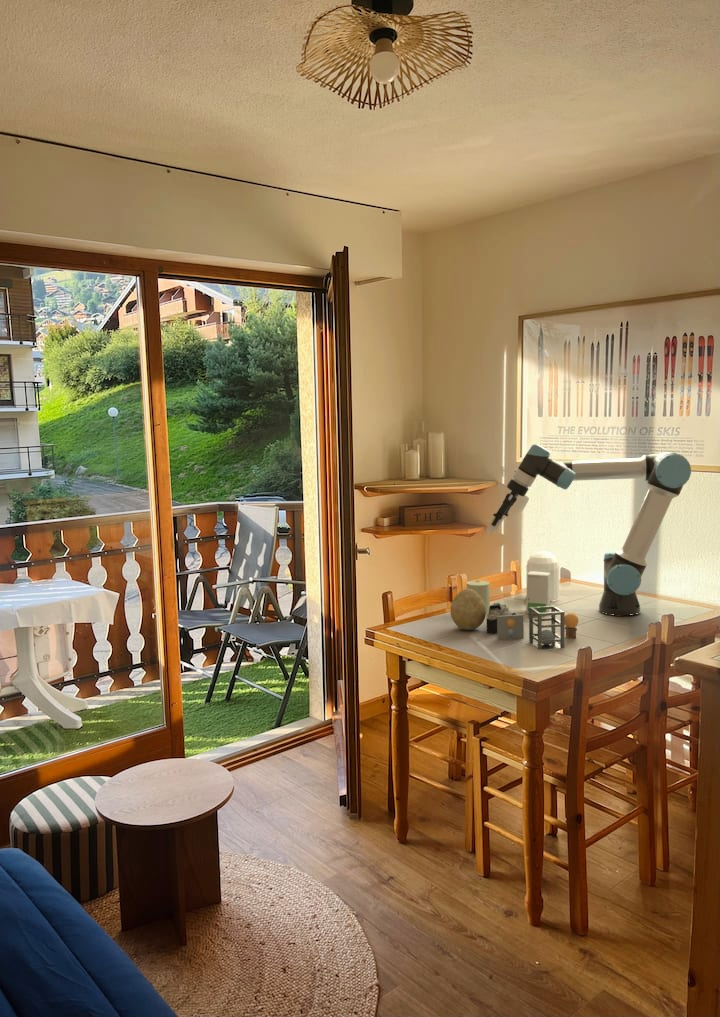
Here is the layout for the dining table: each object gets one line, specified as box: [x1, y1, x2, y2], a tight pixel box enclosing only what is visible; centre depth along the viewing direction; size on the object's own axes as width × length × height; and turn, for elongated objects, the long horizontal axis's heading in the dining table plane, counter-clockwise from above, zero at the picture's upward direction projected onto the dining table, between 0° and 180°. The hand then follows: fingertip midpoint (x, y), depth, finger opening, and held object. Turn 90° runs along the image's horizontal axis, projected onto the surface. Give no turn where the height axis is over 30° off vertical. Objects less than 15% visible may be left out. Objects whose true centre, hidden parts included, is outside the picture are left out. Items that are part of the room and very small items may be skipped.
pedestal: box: [565, 626, 578, 640], centre depth 266 cm, size 5×5×4 cm
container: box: [525, 550, 560, 601], centre depth 325 cm, size 13×13×20 cm
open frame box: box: [528, 605, 566, 651], centre depth 258 cm, size 9×9×13 cm
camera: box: [486, 602, 517, 635], centre depth 278 cm, size 16×9×10 cm, turn 148°
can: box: [466, 580, 491, 615], centre depth 307 cm, size 9×9×12 cm
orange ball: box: [565, 612, 579, 628], centre depth 265 cm, size 5×5×5 cm
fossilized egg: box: [450, 588, 487, 631], centre depth 282 cm, size 13×13×15 cm
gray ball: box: [542, 629, 554, 645], centre depth 258 cm, size 5×5×5 cm
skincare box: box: [526, 571, 551, 615], centre depth 303 cm, size 8×7×16 cm
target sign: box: [496, 613, 525, 641], centre depth 267 cm, size 9×3×9 cm, turn 98°
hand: (491, 530), depth 296 cm, fingers open, 13 cm apart
